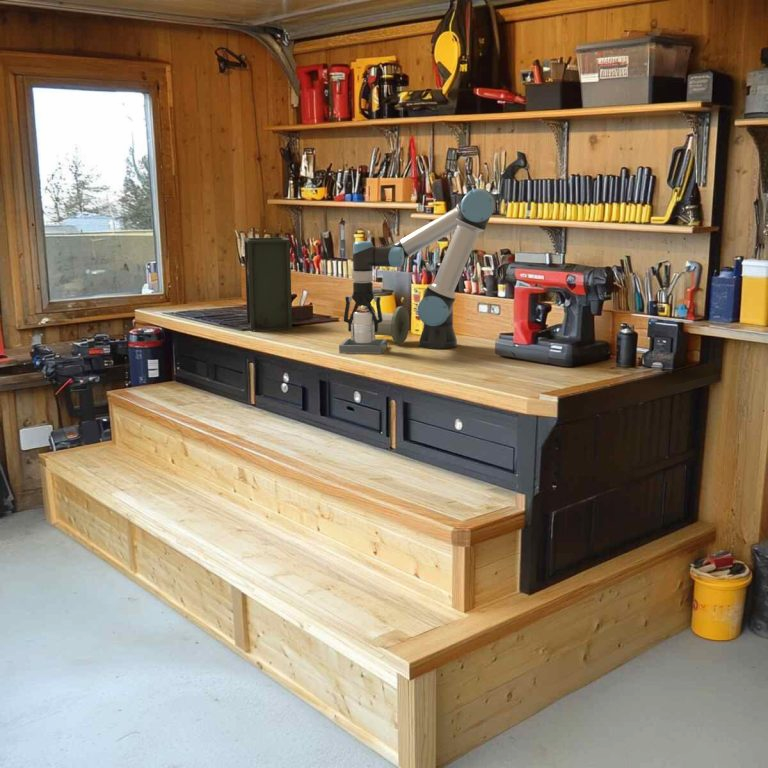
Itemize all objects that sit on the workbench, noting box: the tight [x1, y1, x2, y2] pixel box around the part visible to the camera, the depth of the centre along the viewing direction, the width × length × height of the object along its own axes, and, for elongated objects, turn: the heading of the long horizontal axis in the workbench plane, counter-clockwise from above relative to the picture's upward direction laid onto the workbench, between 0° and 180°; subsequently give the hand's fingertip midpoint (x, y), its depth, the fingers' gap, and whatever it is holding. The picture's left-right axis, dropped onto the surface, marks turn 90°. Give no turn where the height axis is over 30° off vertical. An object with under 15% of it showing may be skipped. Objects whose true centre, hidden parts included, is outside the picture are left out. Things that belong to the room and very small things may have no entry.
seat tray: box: [338, 338, 388, 355], centre depth 357 cm, size 16×16×3 cm
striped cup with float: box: [350, 309, 374, 343], centre depth 355 cm, size 10×8×12 cm
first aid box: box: [243, 237, 293, 331], centre depth 411 cm, size 18×18×40 cm
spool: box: [360, 305, 410, 345], centre depth 374 cm, size 16×15×15 cm
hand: (363, 340), depth 357 cm, fingers closed on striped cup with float, 8 cm apart
